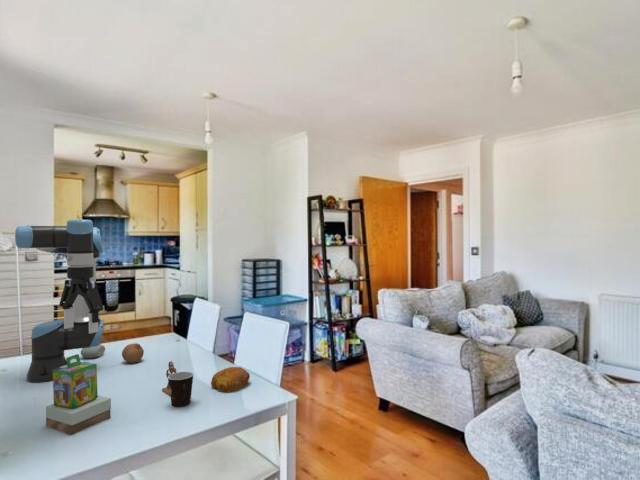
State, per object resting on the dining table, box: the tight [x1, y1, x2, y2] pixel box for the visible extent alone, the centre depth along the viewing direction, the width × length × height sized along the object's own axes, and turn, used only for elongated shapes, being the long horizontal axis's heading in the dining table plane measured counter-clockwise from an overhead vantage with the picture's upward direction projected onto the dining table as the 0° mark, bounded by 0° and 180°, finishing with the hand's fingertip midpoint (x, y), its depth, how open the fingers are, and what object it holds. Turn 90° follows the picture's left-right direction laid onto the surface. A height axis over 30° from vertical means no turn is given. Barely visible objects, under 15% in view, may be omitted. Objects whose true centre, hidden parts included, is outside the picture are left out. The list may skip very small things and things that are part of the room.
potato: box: [210, 366, 251, 393], centre depth 161 cm, size 14×16×8 cm
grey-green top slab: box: [45, 394, 112, 425], centre depth 129 cm, size 13×13×4 cm
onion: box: [121, 342, 145, 364], centre depth 192 cm, size 10×9×10 cm
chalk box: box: [52, 353, 98, 408], centre depth 129 cm, size 9×9×15 cm
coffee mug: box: [167, 371, 194, 408], centre depth 142 cm, size 12×9×10 cm
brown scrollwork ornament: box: [161, 360, 177, 397], centre depth 154 cm, size 9×4×12 cm, turn 43°
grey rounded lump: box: [80, 343, 106, 359], centre depth 202 cm, size 11×8×10 cm
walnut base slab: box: [45, 409, 112, 436], centre depth 130 cm, size 13×13×4 cm
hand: (80, 330), depth 133 cm, fingers open, 13 cm apart
